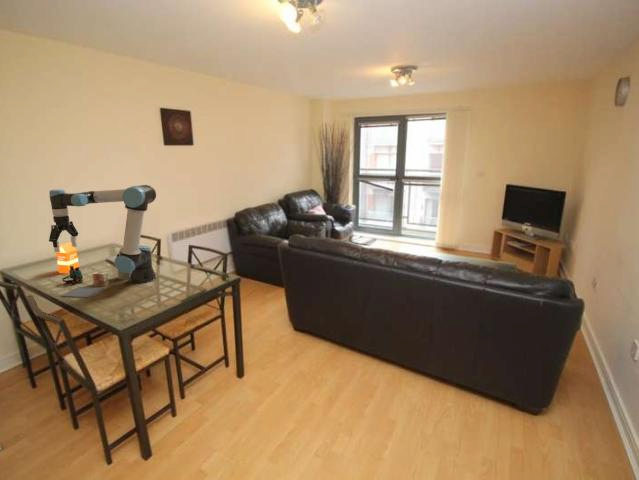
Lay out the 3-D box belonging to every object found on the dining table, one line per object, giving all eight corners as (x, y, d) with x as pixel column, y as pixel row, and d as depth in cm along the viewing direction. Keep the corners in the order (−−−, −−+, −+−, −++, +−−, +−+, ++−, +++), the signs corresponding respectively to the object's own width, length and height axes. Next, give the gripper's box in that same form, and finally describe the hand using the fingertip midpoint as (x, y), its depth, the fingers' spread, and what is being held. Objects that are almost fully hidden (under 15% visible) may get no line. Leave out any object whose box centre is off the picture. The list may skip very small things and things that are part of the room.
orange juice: (79, 269, 235) (75, 242, 230) (69, 273, 227) (65, 245, 222) (69, 268, 236) (65, 241, 231) (58, 272, 227) (54, 244, 222)
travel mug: (125, 280, 219) (123, 254, 215) (115, 279, 220) (112, 253, 216) (134, 276, 227) (132, 251, 222) (124, 275, 228) (122, 250, 224)
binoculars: (57, 270, 204) (72, 264, 213) (61, 286, 208) (76, 279, 217) (68, 272, 202) (83, 266, 211) (72, 288, 205) (86, 281, 214)
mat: (104, 288, 204) (104, 287, 204) (88, 298, 191) (88, 297, 190) (78, 287, 204) (78, 286, 204) (61, 296, 191) (60, 295, 191)
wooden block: (108, 284, 212) (107, 272, 210) (104, 286, 208) (103, 274, 206) (98, 283, 212) (96, 271, 210) (93, 285, 208) (92, 273, 206)
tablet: (127, 256, 271) (127, 253, 271) (142, 263, 255) (141, 260, 255) (105, 260, 259) (105, 257, 258) (119, 267, 243) (118, 264, 243)
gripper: (70, 212, 212) (75, 244, 217) (37, 218, 188) (43, 254, 193) (81, 212, 212) (86, 244, 217) (49, 219, 188) (56, 255, 193)
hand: (66, 249), depth 205 cm, fingers open, 13 cm apart
